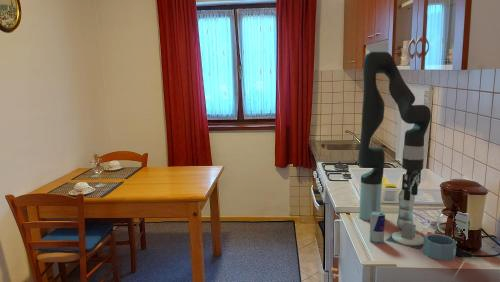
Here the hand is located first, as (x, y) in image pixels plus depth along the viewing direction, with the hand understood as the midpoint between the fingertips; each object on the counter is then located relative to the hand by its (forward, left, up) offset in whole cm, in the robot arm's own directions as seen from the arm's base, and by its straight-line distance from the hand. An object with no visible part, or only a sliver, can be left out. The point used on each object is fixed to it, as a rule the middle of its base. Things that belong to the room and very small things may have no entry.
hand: (410, 197), depth 149 cm
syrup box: (-8, +18, -18) cm, 27 cm away
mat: (0, 0, -18) cm, 18 cm away
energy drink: (+10, -9, -18) cm, 22 cm away
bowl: (+6, +13, -18) cm, 23 cm away
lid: (0, 0, -17) cm, 17 cm away
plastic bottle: (-11, -5, -18) cm, 22 cm away
